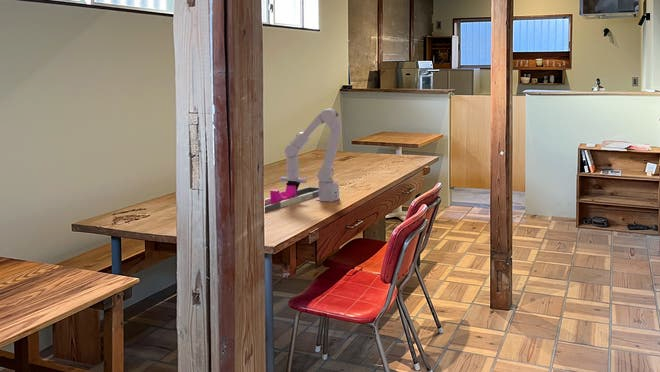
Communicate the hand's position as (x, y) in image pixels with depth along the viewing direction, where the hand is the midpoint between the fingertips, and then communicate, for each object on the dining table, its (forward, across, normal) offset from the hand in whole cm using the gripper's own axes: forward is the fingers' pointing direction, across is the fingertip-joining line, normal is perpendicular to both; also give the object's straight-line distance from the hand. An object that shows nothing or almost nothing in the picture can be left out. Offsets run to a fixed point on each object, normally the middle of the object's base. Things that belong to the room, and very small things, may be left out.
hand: (293, 196), depth 341 cm
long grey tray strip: (+2, 0, +5) cm, 5 cm away
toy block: (+2, 0, +10) cm, 10 cm away
